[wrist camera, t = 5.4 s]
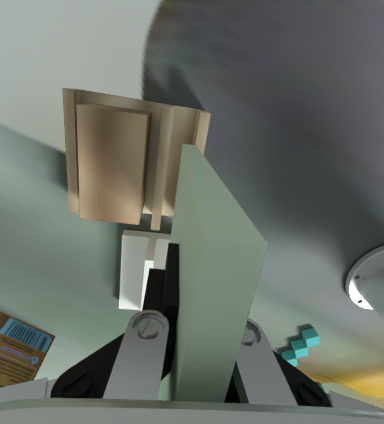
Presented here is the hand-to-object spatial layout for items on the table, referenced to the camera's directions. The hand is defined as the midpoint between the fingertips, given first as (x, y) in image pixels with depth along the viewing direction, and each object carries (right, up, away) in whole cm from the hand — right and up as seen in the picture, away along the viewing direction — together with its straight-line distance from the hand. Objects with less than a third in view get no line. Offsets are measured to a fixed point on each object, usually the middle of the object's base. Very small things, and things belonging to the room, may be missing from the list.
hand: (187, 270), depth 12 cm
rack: (-6, +9, +18) cm, 21 cm away
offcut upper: (-8, +8, +14) cm, 18 cm away
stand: (-6, -6, +25) cm, 26 cm away
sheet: (-1, +4, +11) cm, 12 cm away
